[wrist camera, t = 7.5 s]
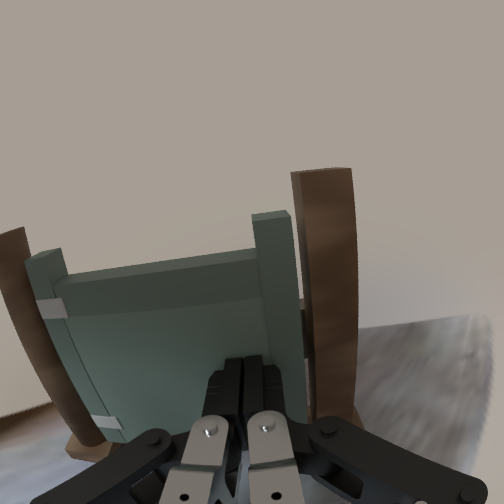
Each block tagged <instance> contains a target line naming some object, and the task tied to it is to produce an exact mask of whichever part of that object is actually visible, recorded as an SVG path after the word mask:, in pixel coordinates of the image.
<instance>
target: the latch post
mask: <svg viewBox="0 0 504 504" xmlns="http://www.w3.org/2000/svg"><path fill="white" fill-rule="evenodd" d="M291 181H292V189H293V197H294V205H295V214H296V222H297V232H298V241H299V251H300V260H301V271H302V283H303V294H304V298H303V299H299V300H300V312H301V324H302V337H303V350H304V359H305V358H308V366H309V386H310V406H309V407H307V421H308V424H312V423H313V422H314V421H315V420H316V419H318V418H321V417H324V416H337V417H340V418H342V419H344V420H346V421H348V422H350V423H352V424H354V425H356V426H358V427H360V428H361V429H363V430H365V429H364V427H363V425H362V422H361V420H360V418H359V415H358V413H357V411H356V409H355V406H354V393H355V381H356V365H357V345H358V253H357V232H356V217H355V216H356V215H355V202H354V191H353V180H352V171H351V168H324V169H315V170H306V171H296V172H291Z"/></svg>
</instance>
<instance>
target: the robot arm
mask: <svg viewBox="0 0 504 504" xmlns="http://www.w3.org/2000/svg"><path fill="white" fill-rule="evenodd" d="M207 387H208V388H207V391H206V396H205V401H204V406H203V411H202V416H201V418H200V419H198V420H197V421H196V422H195V423H194V424H193V425H192V428H191V430H190V431H187V432H184V433H180V434H176V435H172V436H171V435H170V434H169V432H168V431H166V430H164V429H160V428H153V429H149V430H147V431H145V432H143V433H142V434H140V435H139V436H137V437H136V438H134V439H133V440H131V441H130V442H128V443H127V444H125V445H124V446H122V447H121V448H119V449H118V450H116V451H115V452H113V453H112V454H110V455H108V456H107V457H105V458H104V459H102V460H100V461H99V462H97V463H96V464H94V465H92V466H91V467H89V468H87V469H86V470H84V471H83V472H81V473H79V474H77V475H76V476H74V477H72V478H71V479H69V480H67V481H65V482H64V483H62V484H60V485H58V486H57V487H55V488H53V489H51V490H49V491H47V492H46V493H44V494H42V495H40V496H38V497H36V498H34V499H33V500H32V501H31V502H30V504H238V493H239V486H240V478H241V470H242V463H241V451H245V450H248V444H249V456H250V467H249V468H248V476H249V489H250V503H251V504H305V500H304V496H303V491H302V486H301V482H300V477H299V474H307V475H311V476H312V477H313V478H314V479H315V480H316V481H318V482H319V483H321V484H322V485H324V486H325V487H327V488H328V489H330V490H331V491H333V492H335V493H336V494H338V495H339V496H341V497H342V498H344V499H346V500H347V501H349V502H351V503H352V504H485V502H486V499H487V496H488V490H487V487H486V485H485V483H484V482H483V481H482V480H480V479H478V478H475V477H472V476H469V475H467V474H464V473H461V472H458V471H456V470H453V469H450V468H448V467H445V466H443V465H440V464H438V463H435V462H433V461H430V460H428V459H426V458H423V457H421V456H419V455H416V454H414V453H412V452H409V451H407V450H405V449H403V448H401V447H398V446H396V445H394V444H392V443H390V442H388V441H386V440H384V439H382V438H379V437H377V436H375V435H373V434H371V433H369V432H367V431H365V430H363V429H361V428H360V427H358V426H356V425H354V424H352V423H350V422H348V421H346V420H344V419H342V418H340V417H337V416H324V417H321V418H318V419H316V420H315V421H314V422H313V423H312V424H303V423H298V422H295V421H293V420H291V419H290V418H289V417H288V416H287V414H286V408H285V400H284V392H283V384H282V377H281V370H280V369H279V368H278V367H277V366H276V365H275V364H272V365H264V363H263V357H262V355H255V356H246V357H245V367H244V362H243V358H242V357H238V358H228V359H225V364H224V370H217V371H214V373H213V374H212V375H211V376H210V378H209V380H208V386H207ZM152 471H153V472H152ZM150 472H152V473H150ZM149 473H150V474H149ZM148 474H149V475H148ZM146 475H148V476H146ZM145 476H146V477H145ZM144 477H145V478H144ZM142 478H143V479H142ZM141 479H142V480H141ZM139 480H141V481H139ZM138 481H139V482H138ZM136 482H138V483H136ZM135 483H136V484H135ZM133 484H135V485H133ZM132 485H133V486H132ZM131 486H132V487H131Z"/></svg>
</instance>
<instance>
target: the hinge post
mask: <svg viewBox="0 0 504 504" xmlns="http://www.w3.org/2000/svg"><path fill="white" fill-rule="evenodd" d="M30 257H31V253H30V249H29V245H28V241H27V237H26V233H25V229H24V227H20V228H17V229H14V230H11V231H8V232H5V233H2V234H0V290H1V292H2V295H3V298H4V301H5V304H6V306H7V309H8V311H9V314H10V317H11V319H12V322H13V324H14V327H15V329H16V331H17V334H18V336H19V338H20V341H21V343H22V345H23V347H24V349H25V351H26V353H27V355H28V357H29V359H30V362H31V364H32V365H33V367H34V369H35V371H36V373H37V375H38V377H39V379H40V381H41V382H42V384H43V386H44V388H45V389H46V391H47V393H48V395H49V396H50V398H51V400H52V401H53V403H54V405H55V406H56V408H57V409H58V411H59V413H60V414H61V416H62V417H63V419H64V420H65V422H66V423H67V425H68V426H69V428H70V429H71V431H72V432H73V434H72V436H71V438H70V440H69V442H68V444H67V446H66V448H65V450H66V452H67V453H68V454H69V455H70V456H71V458H74V459H79V460H84V461H90V462H95V463H97V462H99V461H100V460H102V459H104V458H105V457H107V456H108V455H110V454H112V453H113V452H115V451H116V450H118V449H119V448H120V447H121V444H122V443H117V442H108V441H107V439H106V438H105V436H104V435H103V433H102V432H101V430H100V429H99V427H97V425H96V423H95V422H94V420H93V419H92V417H91V414H90V413H89V411H88V409H87V408H86V406H85V404H84V403H83V401H82V399H81V397H80V396H79V394H78V392H77V390H76V388H75V386H74V385H73V383H72V381H71V379H70V377H69V375H68V373H67V371H66V369H65V367H64V365H63V363H62V361H61V359H60V357H59V355H58V352H57V350H56V348H55V346H54V344H53V341H52V339H51V337H50V334H49V332H48V329H47V327H46V325H45V322H44V320H43V319H42V316H41V314H40V311H39V308H38V305H37V303H36V298H35V295H34V292H33V289H32V286H31V283H30V280H29V277H28V273H27V270H26V267H25V263H24V261H25V260H27V259H29V258H30Z"/></svg>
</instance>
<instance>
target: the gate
mask: <svg viewBox="0 0 504 504" xmlns="http://www.w3.org/2000/svg"><path fill="white" fill-rule="evenodd" d="M252 224H253V231H254V238H255V245H256V248H251V249H244V250H237V251H230V252H223V253H216V254H209V255H202V256H194V257H188V258H180V259H174V260H166V261H160V262H153V263H146V264H139V265H132V266H125V267H118V268H111V269H104V270H97V271H91V272H84V273H77V274H70V275H68V272H67V268H66V265H65V261H64V258H63V254H62V250H61V248H57V249H52V250H47V251H43V252H40V253H38V254H36V255H34V256H32V257H30V258H29V259H27V260H25V261H24V263H25V267H26V270H27V273H28V277H29V280H30V283H31V286H32V289H33V292H34V295H35V298H36V303H37V305H38V308H39V311H40V314H41V316H42V319H43V320H44V322H45V325H46V327H47V329H48V332H49V334H50V337H51V339H52V341H53V344H54V346H55V348H56V350H57V352H58V355H59V357H60V359H61V361H62V363H63V365H64V367H65V369H66V371H67V373H68V375H69V377H70V379H71V381H72V383H73V385H74V386H75V388H76V390H77V392H78V394H79V396H80V397H81V399H82V401H83V403H84V404H85V406H86V408H87V409H88V411H89V413H90V414H91V417H92V419H93V420H94V422H95V423H96V425H97V427H99V429H100V430H101V432H102V433H103V435H104V436H105V438H106V439H107V441H108V442H117V443H126V444H127V443H128V442H130V441H131V440H133V439H134V438H136V437H137V436H139V435H140V434H142V433H143V432H145V431H147V430H149V429H153V428H160V429H164V430H166V431H168V432H169V434H170V435H171V436H172V435H176V434H180V433H184V432H187V431H190V430H191V428H192V425H193V424H194V423H195V422H196V421H197V420H198V419H200V418H201V416H202V411H203V406H204V401H205V396H206V391H207V388H208V387H207V386H208V380H209V378H210V376H211V375H212V374H213V373H214V371H217V370H224V364H225V359H228V358H238V357H242V358H243V362H244V367H245V357H246V356H255V355H262V357H263V363H264V365H272V364H275V365H276V366H277V367H278V368H279V369H280V370H281V377H282V384H283V392H284V400H285V408H286V414H287V416H288V417H289V418H290V419H291V420H293V421H295V422H298V423H303V424H308V421H307V400H306V381H305V365H304V350H303V337H302V324H301V312H300V300H299V289H298V278H297V269H296V258H295V249H294V239H293V231H292V222H291V216H290V215H289V214H288V212H287V211H286V210H281V211H274V212H267V213H259V214H252Z"/></svg>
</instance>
